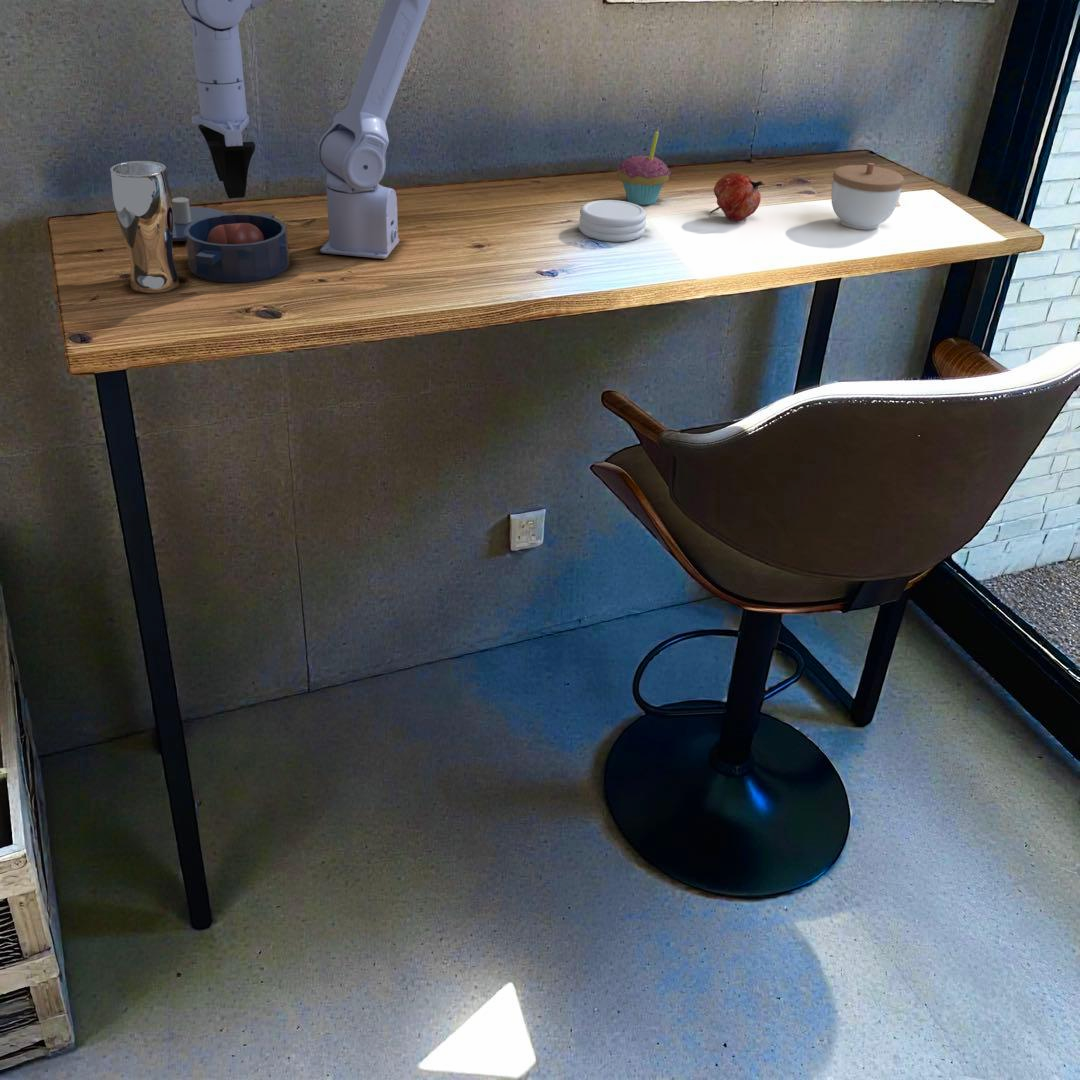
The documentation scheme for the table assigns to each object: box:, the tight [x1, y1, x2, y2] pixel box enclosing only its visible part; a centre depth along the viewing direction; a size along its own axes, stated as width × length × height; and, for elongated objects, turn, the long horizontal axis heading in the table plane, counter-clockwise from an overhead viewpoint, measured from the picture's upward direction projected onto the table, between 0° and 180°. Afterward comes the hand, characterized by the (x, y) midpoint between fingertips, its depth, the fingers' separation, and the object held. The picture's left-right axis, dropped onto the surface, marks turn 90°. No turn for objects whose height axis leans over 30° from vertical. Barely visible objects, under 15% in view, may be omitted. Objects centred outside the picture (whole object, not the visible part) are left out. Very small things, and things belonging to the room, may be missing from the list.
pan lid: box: [172, 196, 228, 242], centre depth 168 cm, size 14×14×4 cm
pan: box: [184, 212, 290, 284], centre depth 157 cm, size 13×19×5 cm
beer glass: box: [109, 160, 180, 294], centre depth 147 cm, size 7×7×15 cm
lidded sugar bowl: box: [830, 162, 905, 231], centre depth 182 cm, size 11×11×9 cm
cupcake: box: [616, 127, 672, 206], centre depth 187 cm, size 9×8×12 cm
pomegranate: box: [709, 172, 766, 222], centre depth 183 cm, size 7×7×10 cm
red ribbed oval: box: [207, 223, 264, 244], centre depth 157 cm, size 8×5×5 cm, turn 111°
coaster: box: [578, 199, 647, 243], centre depth 175 cm, size 10×10×4 cm
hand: (231, 188), depth 153 cm, fingers open, 7 cm apart
